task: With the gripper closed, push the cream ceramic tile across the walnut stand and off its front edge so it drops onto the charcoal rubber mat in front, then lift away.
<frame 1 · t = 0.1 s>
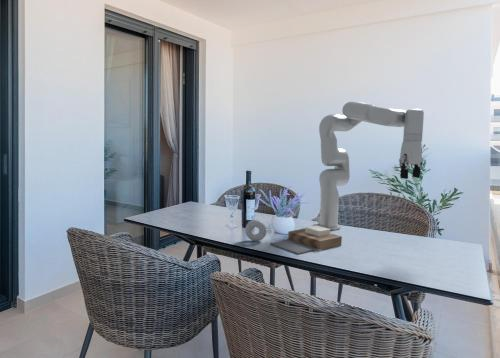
hand: (410, 177, 164), 31 cm above the table, tool pointing down, fingers open, 9 cm apart
stand: (314, 242, 174), on the table
tile: (317, 230, 174), point 5 cm above the table, touching stand
donut: (255, 241, 175), on the table
mat: (292, 247, 166), on the table
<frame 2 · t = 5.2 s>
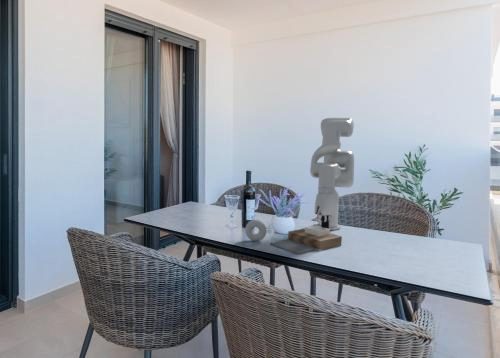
hand: (324, 229, 177), 5 cm above the table, tool pointing down, fingers closed
tile: (317, 230, 174), point 5 cm above the table, touching gripper
everything else where it was.
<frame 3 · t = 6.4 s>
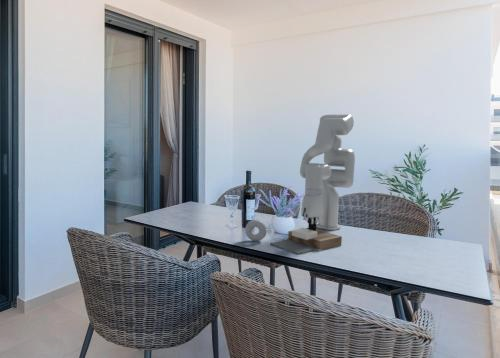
hand: (312, 231, 172), 5 cm above the table, tool pointing down, fingers closed
tile: (304, 233, 169), point 5 cm above the table, touching gripper, stand
everything else where it was.
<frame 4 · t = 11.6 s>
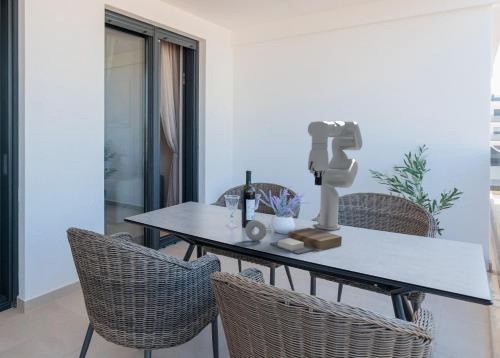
hand: (318, 185, 183), 25 cm above the table, tool pointing down, fingers closed
tile: (290, 244, 164), point 2 cm above the table, tilted 180°, touching mat
everything else where it was.
at the end: tile inside the target area (2.2 cm from its centre), point 1.8 cm above the table; tile touching mat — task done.
